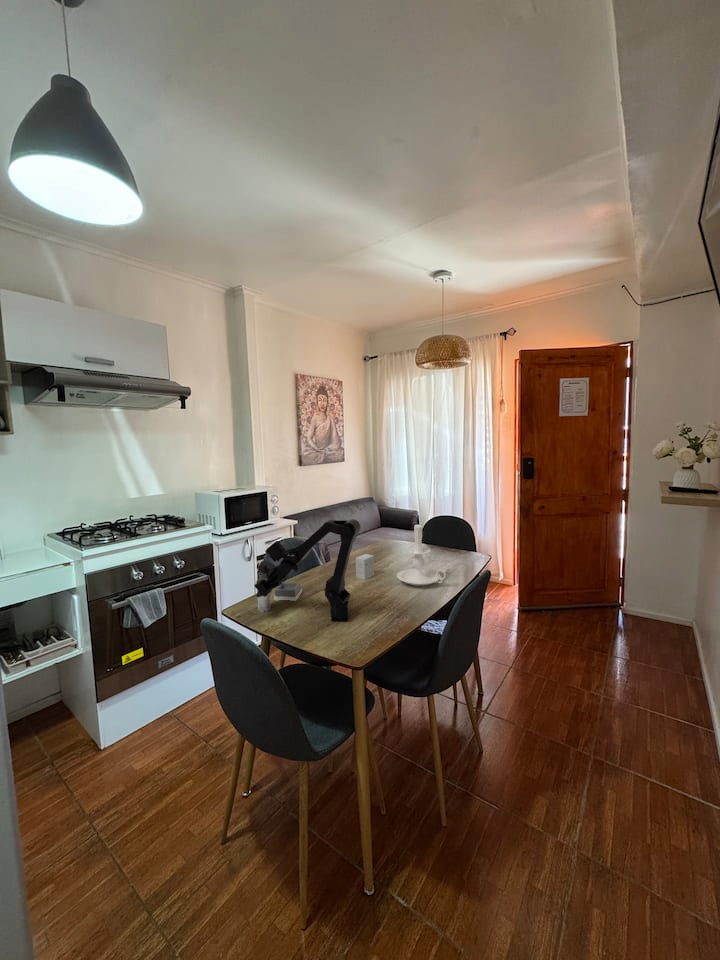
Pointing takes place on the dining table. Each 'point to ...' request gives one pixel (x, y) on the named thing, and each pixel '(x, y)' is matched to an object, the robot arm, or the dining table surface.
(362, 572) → the small box
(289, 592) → the holder
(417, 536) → the candlestick
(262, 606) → the black-capped silver cylinder
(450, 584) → the dining table surface
